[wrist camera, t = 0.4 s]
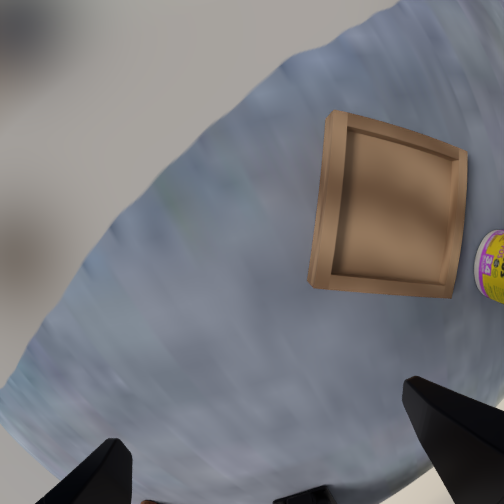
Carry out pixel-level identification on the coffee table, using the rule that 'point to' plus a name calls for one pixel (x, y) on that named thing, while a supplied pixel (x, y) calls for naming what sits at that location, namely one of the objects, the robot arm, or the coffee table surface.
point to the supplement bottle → (491, 266)
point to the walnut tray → (387, 210)
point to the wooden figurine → (148, 502)
